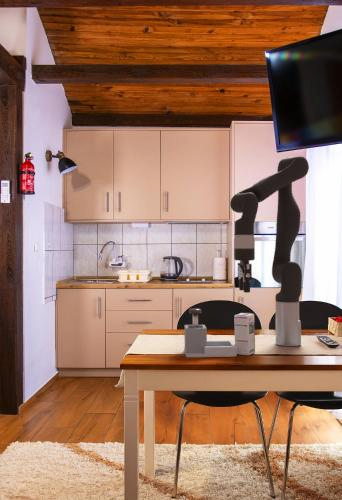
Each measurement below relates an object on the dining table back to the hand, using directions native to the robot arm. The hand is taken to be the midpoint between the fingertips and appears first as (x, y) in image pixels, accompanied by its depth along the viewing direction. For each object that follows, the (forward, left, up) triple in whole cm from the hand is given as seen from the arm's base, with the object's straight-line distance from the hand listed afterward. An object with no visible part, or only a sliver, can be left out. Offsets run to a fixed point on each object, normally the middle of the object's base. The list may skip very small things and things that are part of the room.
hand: (244, 291), depth 175 cm
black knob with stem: (+18, -1, -15) cm, 24 cm away
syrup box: (0, 0, -23) cm, 23 cm away
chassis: (+13, -1, -23) cm, 26 cm away
